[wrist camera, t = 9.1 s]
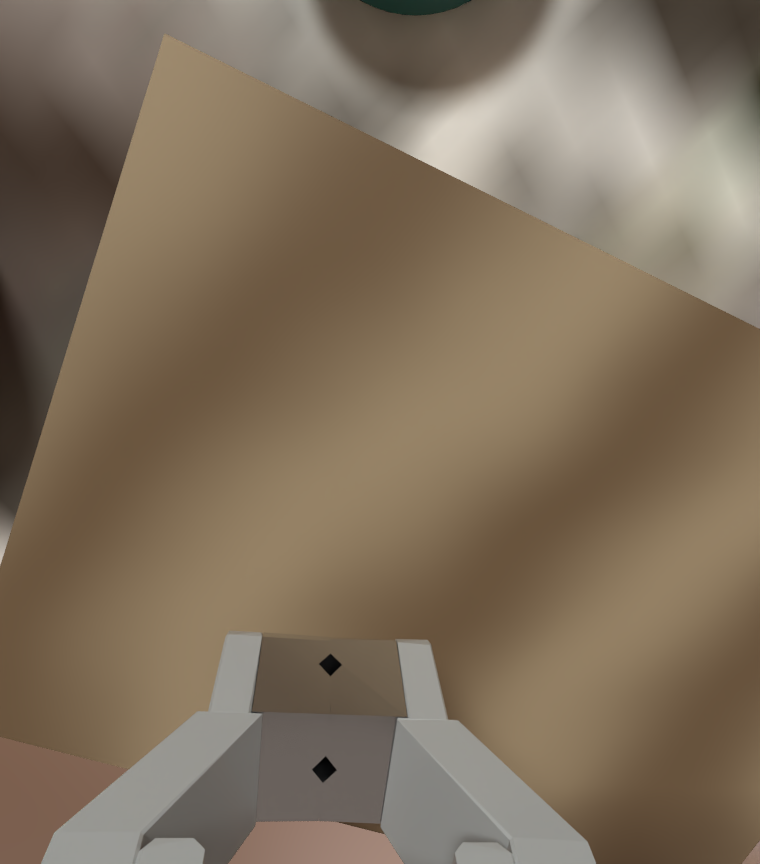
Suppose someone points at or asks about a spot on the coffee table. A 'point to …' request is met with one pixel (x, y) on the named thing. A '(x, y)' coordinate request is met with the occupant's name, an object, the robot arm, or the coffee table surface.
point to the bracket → (415, 6)
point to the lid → (395, 470)
